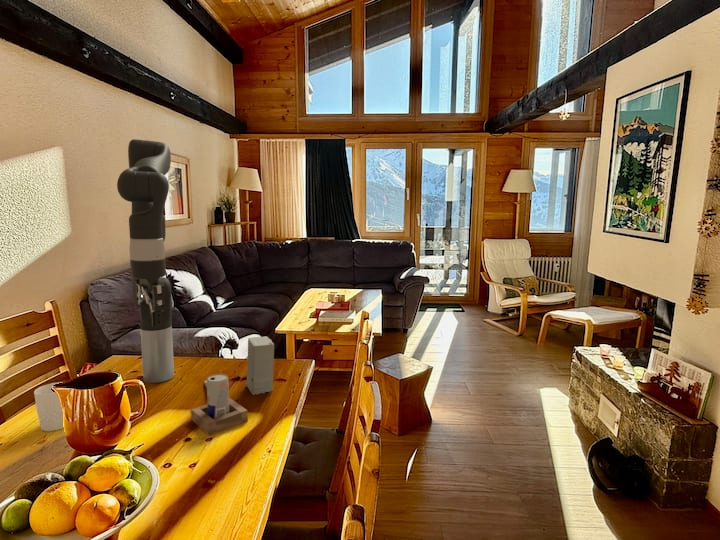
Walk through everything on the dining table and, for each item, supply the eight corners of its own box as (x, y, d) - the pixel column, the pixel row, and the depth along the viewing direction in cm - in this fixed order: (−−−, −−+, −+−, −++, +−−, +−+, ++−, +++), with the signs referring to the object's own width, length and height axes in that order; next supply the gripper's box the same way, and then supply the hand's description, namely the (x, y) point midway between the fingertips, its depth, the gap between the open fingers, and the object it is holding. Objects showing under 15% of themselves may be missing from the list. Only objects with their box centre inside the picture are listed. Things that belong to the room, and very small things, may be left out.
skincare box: (246, 385, 134) (244, 337, 132) (268, 381, 137) (267, 334, 135) (252, 396, 127) (251, 345, 124) (275, 392, 130) (275, 342, 128)
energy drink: (211, 416, 114) (209, 373, 113) (231, 415, 115) (230, 373, 113) (205, 426, 109) (204, 381, 107) (226, 425, 110) (225, 381, 108)
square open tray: (191, 419, 112) (191, 409, 112) (228, 407, 120) (228, 397, 119) (209, 435, 105) (209, 424, 104) (247, 420, 112) (247, 410, 112)
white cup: (30, 429, 106) (26, 391, 105) (61, 415, 114) (58, 379, 112) (51, 435, 104) (48, 397, 102) (82, 420, 111) (79, 384, 110)
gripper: (175, 259, 98) (178, 326, 101) (154, 253, 108) (157, 314, 111) (140, 261, 93) (144, 332, 96) (121, 255, 103) (125, 319, 106)
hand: (151, 323), depth 103 cm, fingers open, 8 cm apart
